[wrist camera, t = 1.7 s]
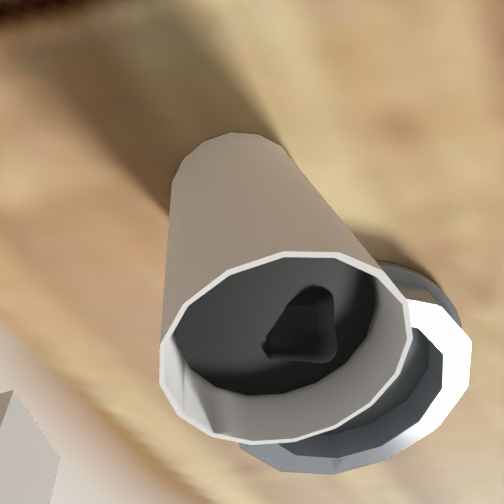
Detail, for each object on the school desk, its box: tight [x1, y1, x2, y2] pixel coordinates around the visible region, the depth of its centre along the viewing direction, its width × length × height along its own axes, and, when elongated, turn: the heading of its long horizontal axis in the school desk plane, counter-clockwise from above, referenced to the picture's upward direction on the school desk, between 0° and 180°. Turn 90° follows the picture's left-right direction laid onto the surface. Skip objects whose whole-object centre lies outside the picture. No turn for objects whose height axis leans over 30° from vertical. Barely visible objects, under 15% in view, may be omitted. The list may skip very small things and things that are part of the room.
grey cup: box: [159, 132, 413, 445], centre depth 16 cm, size 7×7×10 cm
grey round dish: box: [238, 261, 472, 475], centre depth 26 cm, size 14×14×2 cm
